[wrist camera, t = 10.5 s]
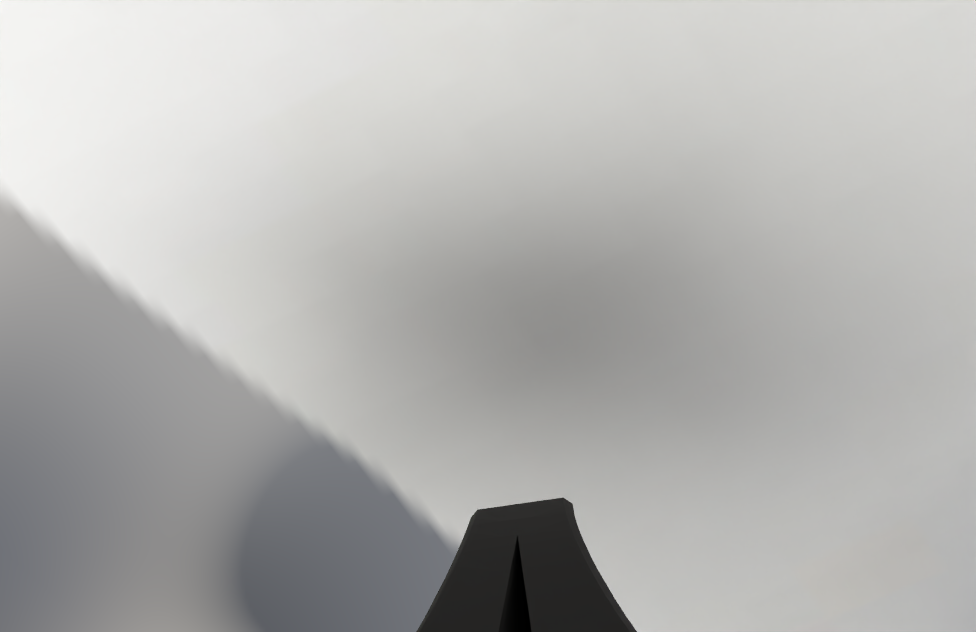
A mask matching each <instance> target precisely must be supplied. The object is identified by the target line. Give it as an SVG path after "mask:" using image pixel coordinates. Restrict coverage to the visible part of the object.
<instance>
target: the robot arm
mask: <svg viewBox="0 0 976 632" xmlns="http://www.w3.org/2000/svg"><path fill="white" fill-rule="evenodd" d="M417 632H637V631H636V630H635V629H634V627H633V626H632V624H631V623H630V621H629V620H628V618H627V617H626V616H625V614H624V613H623V611H622V609H621V608H620V606H619V605H618V603H617V602H616V600H615V599H614V597H613V595H612V593H611V592H610V590H609V588H608V587H607V585H606V583H605V581H604V580H603V578H602V576H601V575H600V573H599V571H598V569H597V568H596V566H595V564H594V562H593V560H592V558H591V556H590V554H589V552H588V550H587V547H586V545H585V543H584V541H583V539H582V536H581V534H580V531H579V529H578V526H577V523H576V520H575V516H574V510H573V504H572V503H571V502H569V501H568V500H566V499H565V498H558V499H551V500H544V501H536V502H529V503H522V504H515V505H508V506H501V507H494V508H487V509H480V510H477V511H476V512H475V514H474V515H473V516H472V517H471V519H470V522H469V525H468V528H467V530H466V533H465V535H464V538H463V540H462V543H461V545H460V547H459V550H458V552H457V554H456V556H455V559H454V561H453V563H452V565H451V567H450V569H449V572H448V574H447V576H446V578H445V580H444V582H443V584H442V586H441V587H440V589H439V591H438V593H437V595H436V597H435V599H434V601H433V603H432V605H431V607H430V609H429V611H428V613H427V615H426V616H425V618H424V620H423V622H422V624H421V625H420V627H419V628H418V630H417Z"/></svg>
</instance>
